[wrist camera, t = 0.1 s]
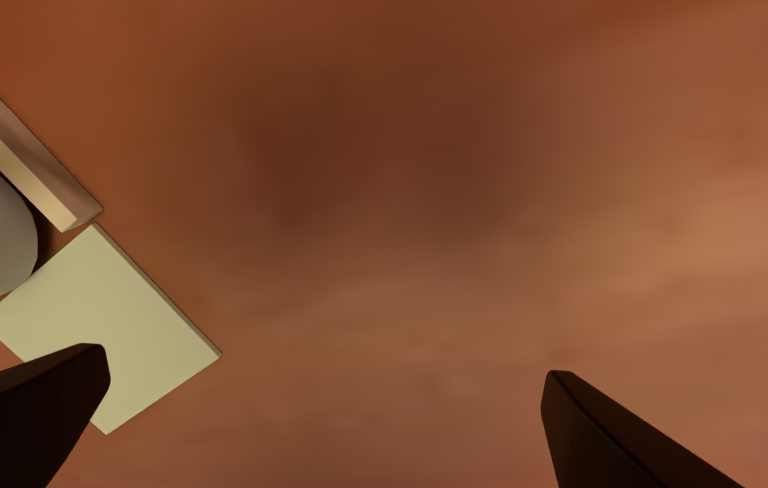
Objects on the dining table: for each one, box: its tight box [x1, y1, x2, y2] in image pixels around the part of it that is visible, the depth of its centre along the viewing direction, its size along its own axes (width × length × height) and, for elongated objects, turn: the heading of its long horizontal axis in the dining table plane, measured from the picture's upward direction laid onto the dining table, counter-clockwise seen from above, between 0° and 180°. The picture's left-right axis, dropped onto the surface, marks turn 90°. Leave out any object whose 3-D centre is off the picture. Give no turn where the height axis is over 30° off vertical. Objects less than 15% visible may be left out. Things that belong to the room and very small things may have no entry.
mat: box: [0, 223, 222, 435], centre depth 26 cm, size 10×10×1 cm
